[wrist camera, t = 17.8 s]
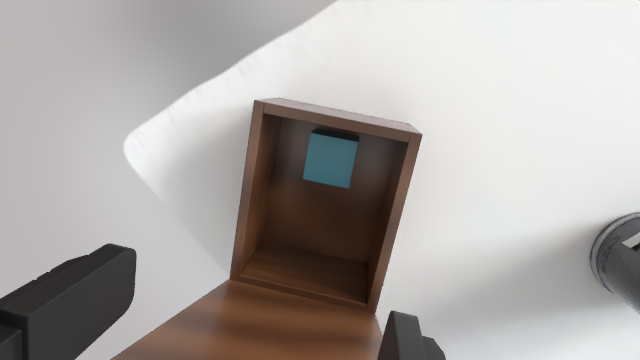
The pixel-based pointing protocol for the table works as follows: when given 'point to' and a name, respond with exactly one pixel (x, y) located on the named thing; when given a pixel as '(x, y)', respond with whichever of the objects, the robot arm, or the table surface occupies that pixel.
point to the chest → (320, 205)
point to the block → (330, 157)
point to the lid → (260, 329)
